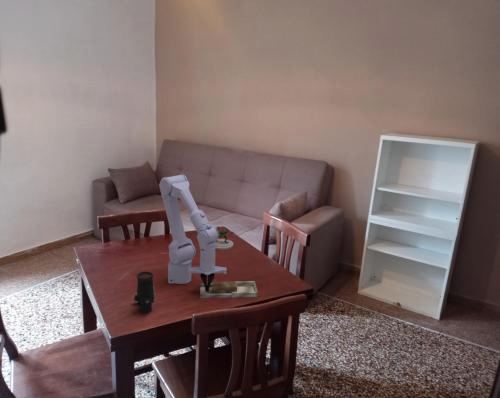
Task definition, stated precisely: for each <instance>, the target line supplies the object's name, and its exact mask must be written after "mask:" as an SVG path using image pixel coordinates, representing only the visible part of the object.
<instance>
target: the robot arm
mask: <svg viewBox="0 0 500 398" xmlns="http://www.w3.org/2000/svg"><path fill="white" fill-rule="evenodd" d="M158 186H159V190H160V194H161V198H162V201H163V205H164V209H165V213H166V218H167V221H168V226H169V230H170V234H171V239H172V241H171V242H170V244H169V245H168V257H169V261H168V266H167V267H168V268H167V271H168V272H167V279H168V281H167V282H168V284H178V285H179V284H180V285H181V284H182V285H184V284H188V283H190V282H191V281H192V274H200V275H199V276H200V280H201V281H202V283H204V286H205V291H209V288H210V285H211V283H213V282H214V281H213V280H214V279H215V274H224V275H227V267H223V266H217V265H216V249H215V248H216V240H218V239H220V238H219V236H220V234H219V232H218V230H217V226H214V224H212V223H211V222H210V220H208V219H209V218H208V217H207V216H206V214H205V212H204V210H202V209H199V207H198V206H197V204H196V201H195V199H194V197H193V195H192V193H191V190H190V182H189V180H188V178H187V176H186V175H185V174H182V173H181V174H179V175H178V174H177V175H173V176H166V177H165V176H164V177H162V178H161V180H160V182H159V184H158ZM178 198H179V199H180V200H181V202H182V203H183V205H184V206H185V208H186V209H187V211H188V212H189V221H190V222H191V223H192V225H193V227H194V229H195V231H196V233H197V235H196V239H197V241H198V246H199V249H200V250H199V251H200V252H199V253H200V255H199V256H200V257H199V258H200V259H199V265H198V266H193V267H192V261H193V259H194V257H196V253H197V252H196V248H195V246H194V243H193V241H192V239H191V238H188V237H187V236H186V231H185V226H184V224H183V223H184V222H183V219H182V215H181V211H180V206H179V203H178ZM214 241H215V242H214Z"/></svg>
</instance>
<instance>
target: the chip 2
mask: <svg viewBox="0 0 500 398" xmlns="http://www.w3.org/2000/svg"><path fill="white" fill-rule="evenodd" d="M224 283H225V293H232V292H237V284H236V282H235V281H224Z"/></svg>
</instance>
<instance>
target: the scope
mask: <svg viewBox="0 0 500 398" xmlns="http://www.w3.org/2000/svg"><path fill="white" fill-rule="evenodd" d="M136 280H137V283H136V284H137V289H136V294H135V295H133V296H132V300H134V301H135V302H137V305H138V306H139V310H140V313H142V314H149V313H151V312H152V310H153V304H152V303H154V300H155V298H156V294H155V286H154V273H153V272H151V271H141V272H139V273H137V274H136Z"/></svg>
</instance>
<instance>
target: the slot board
mask: <svg viewBox="0 0 500 398" xmlns="http://www.w3.org/2000/svg"><path fill="white" fill-rule="evenodd" d="M234 282H236V284H237V292H232V293H217V294H213V282H211V285H210V288H209V291H205V286H204V283H203V282H202V283H200V285H199V287H200V289H199V291H200V293H199V294H200V296H199V297H200V299H214V298H215V299H218V298H225V299H226V298H258V297H259V293H258V292H259V291H258V288H257V284H256V281H255V280H253V281H252V280H251V281H249V280H247V281H245V280H244V281H242V280H241V281H235V280H234ZM224 285H225V282H224Z"/></svg>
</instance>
